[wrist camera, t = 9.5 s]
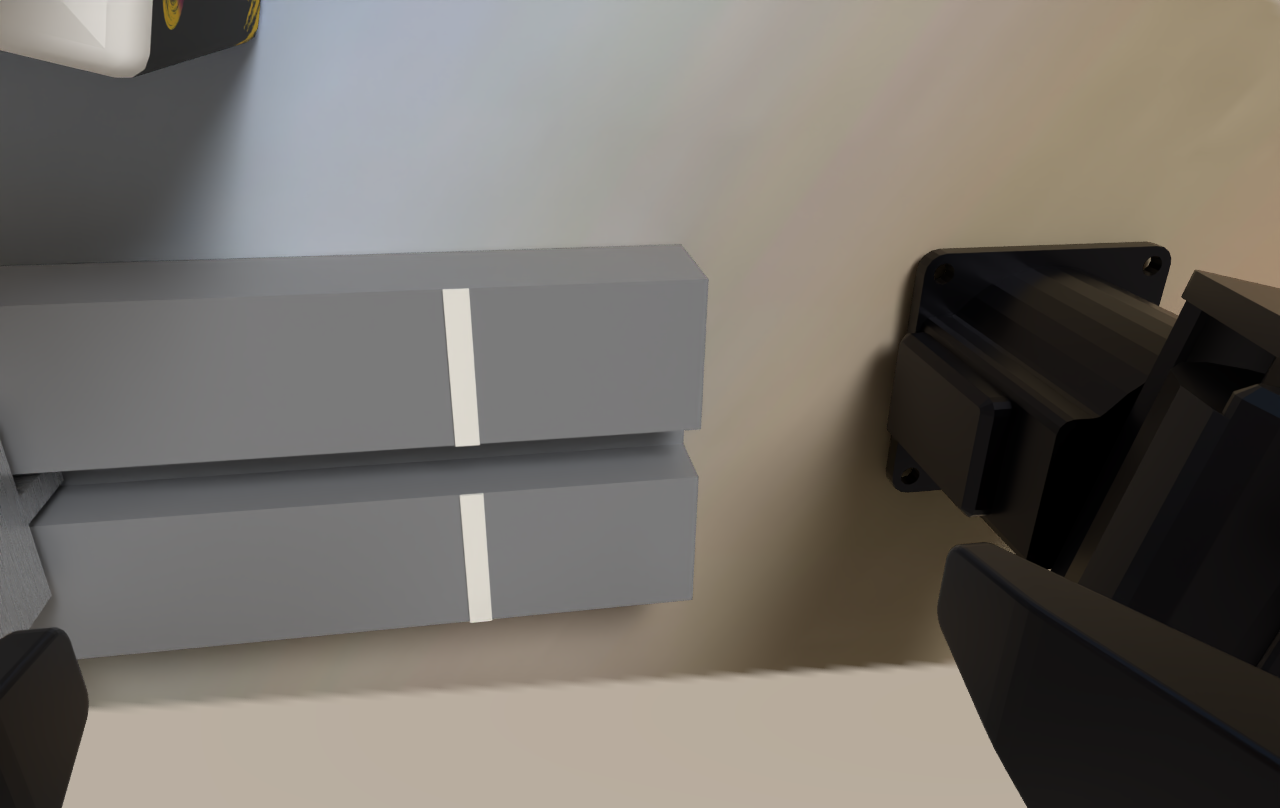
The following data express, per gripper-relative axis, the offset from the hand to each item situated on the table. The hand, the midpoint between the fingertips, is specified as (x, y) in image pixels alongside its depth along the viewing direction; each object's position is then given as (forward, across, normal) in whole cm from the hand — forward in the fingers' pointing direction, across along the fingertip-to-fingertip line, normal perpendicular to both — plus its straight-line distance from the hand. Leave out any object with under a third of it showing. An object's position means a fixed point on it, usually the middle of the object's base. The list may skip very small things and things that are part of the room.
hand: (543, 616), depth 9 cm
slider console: (+12, +6, +4) cm, 14 cm away
